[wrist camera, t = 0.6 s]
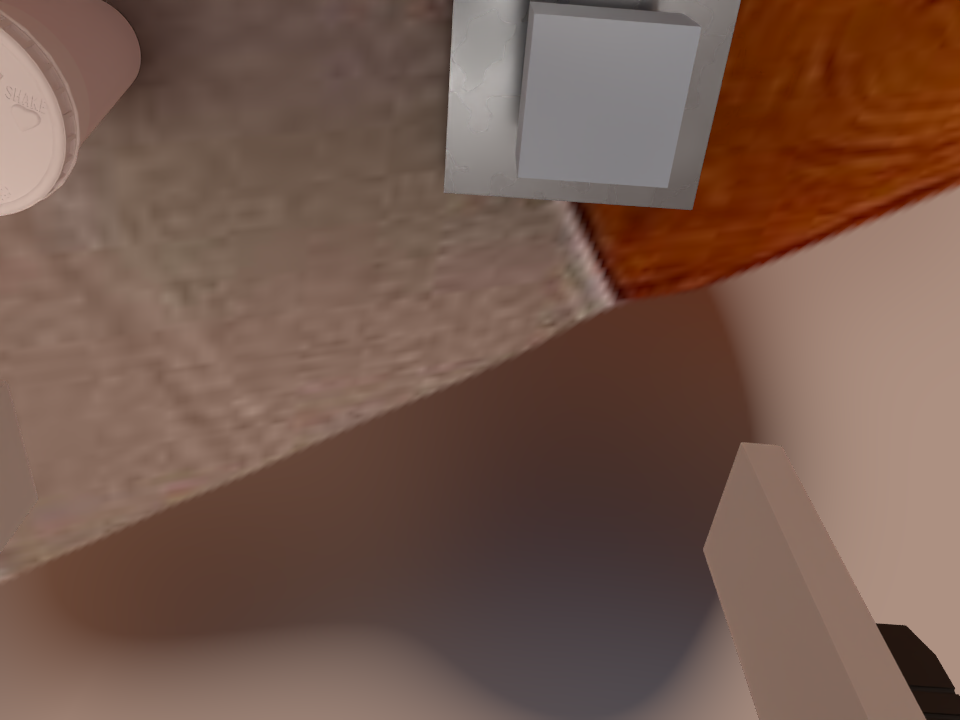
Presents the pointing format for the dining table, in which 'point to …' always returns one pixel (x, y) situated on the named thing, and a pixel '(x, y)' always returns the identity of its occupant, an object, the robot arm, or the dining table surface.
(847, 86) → the dining table surface
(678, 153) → the console
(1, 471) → the robot arm
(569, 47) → the blue key
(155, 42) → the dining table surface
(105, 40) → the smoothie
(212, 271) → the dining table surface
